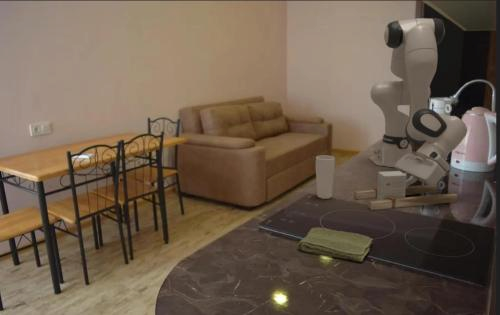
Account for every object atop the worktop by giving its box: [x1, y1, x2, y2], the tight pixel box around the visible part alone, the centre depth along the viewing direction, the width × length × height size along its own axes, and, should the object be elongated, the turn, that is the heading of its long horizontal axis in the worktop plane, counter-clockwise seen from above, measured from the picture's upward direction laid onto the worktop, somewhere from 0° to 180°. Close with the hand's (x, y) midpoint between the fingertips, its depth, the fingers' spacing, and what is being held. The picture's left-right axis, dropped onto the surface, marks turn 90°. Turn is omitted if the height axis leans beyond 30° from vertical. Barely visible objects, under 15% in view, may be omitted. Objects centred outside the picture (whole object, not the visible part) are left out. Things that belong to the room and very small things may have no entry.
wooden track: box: [353, 184, 458, 211], centre depth 141 cm, size 13×32×3 cm, turn 101°
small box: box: [376, 170, 406, 200], centre depth 138 cm, size 8×6×10 cm
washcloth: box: [297, 226, 374, 263], centre depth 106 cm, size 13×18×3 cm
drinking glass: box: [315, 154, 336, 200], centre depth 144 cm, size 7×7×15 cm
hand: (402, 185), depth 140 cm, fingers closed
